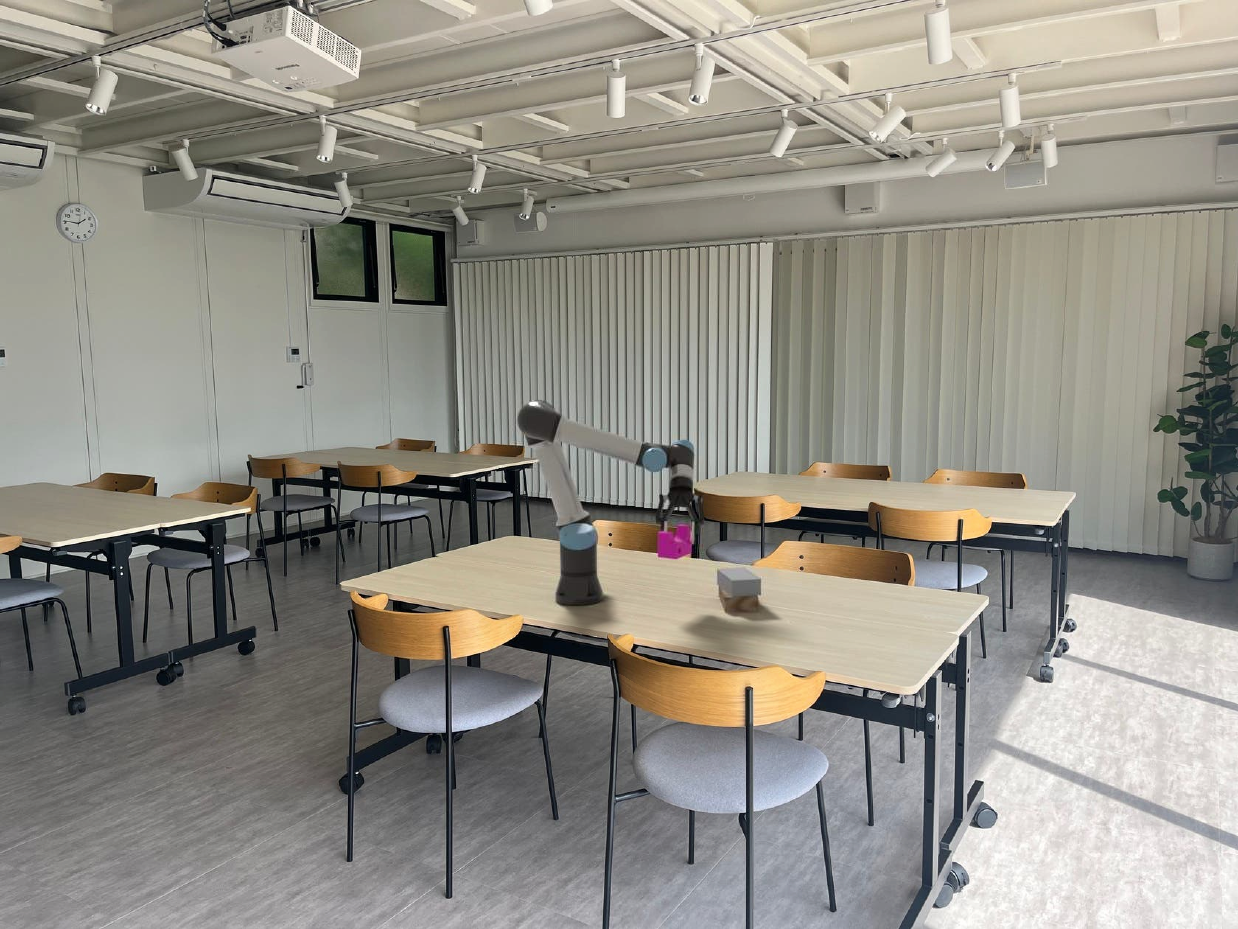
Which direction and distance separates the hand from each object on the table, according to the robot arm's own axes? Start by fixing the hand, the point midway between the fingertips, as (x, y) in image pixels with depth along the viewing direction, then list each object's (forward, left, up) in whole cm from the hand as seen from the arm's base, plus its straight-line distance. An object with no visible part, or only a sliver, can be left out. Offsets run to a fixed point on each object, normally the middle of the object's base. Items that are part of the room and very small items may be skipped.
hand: (678, 541), depth 279 cm
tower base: (+18, +3, -21) cm, 28 cm away
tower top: (+18, +4, -16) cm, 24 cm away
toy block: (0, 0, -4) cm, 4 cm away
